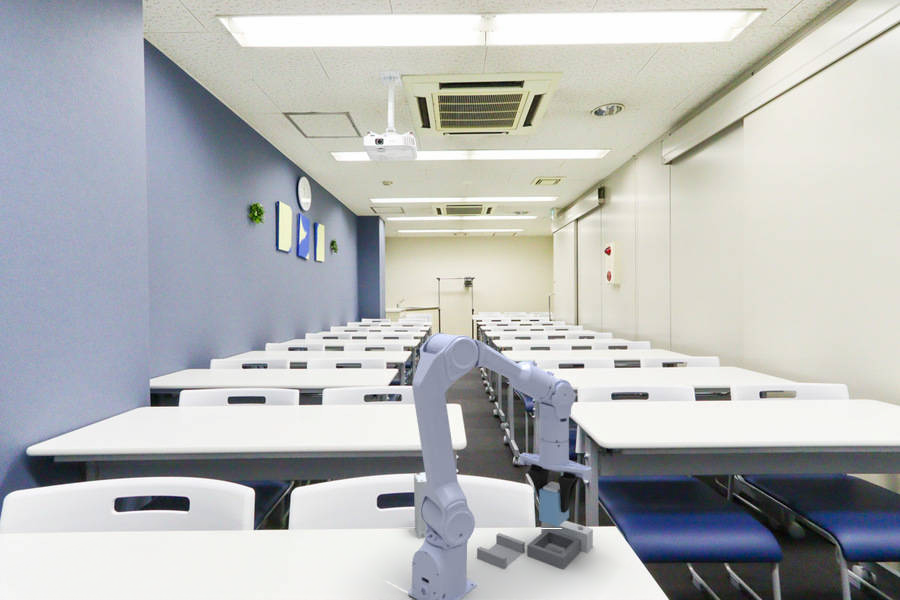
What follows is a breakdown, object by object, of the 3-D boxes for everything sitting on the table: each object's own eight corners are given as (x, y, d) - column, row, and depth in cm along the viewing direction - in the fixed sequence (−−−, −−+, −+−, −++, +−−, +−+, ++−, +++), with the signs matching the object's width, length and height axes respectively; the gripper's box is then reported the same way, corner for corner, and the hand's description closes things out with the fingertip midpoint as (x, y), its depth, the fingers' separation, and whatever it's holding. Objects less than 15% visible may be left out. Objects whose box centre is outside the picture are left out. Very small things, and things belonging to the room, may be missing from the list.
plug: (558, 526, 88) (558, 492, 88) (539, 520, 90) (539, 487, 90) (568, 517, 91) (569, 484, 92) (550, 511, 94) (550, 479, 94)
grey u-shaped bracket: (503, 571, 85) (503, 559, 85) (477, 560, 88) (477, 548, 89) (524, 553, 91) (524, 542, 91) (498, 543, 95) (498, 532, 95)
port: (569, 574, 84) (569, 550, 84) (521, 555, 90) (521, 533, 90) (592, 548, 93) (592, 527, 93) (547, 533, 99) (547, 513, 99)
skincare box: (438, 538, 97) (438, 480, 97) (417, 540, 96) (417, 482, 96) (432, 525, 103) (433, 470, 103) (413, 527, 102) (413, 472, 102)
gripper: (597, 440, 90) (597, 510, 89) (530, 428, 99) (530, 492, 98) (583, 449, 84) (583, 523, 84) (514, 435, 93) (514, 502, 93)
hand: (553, 507), depth 91 cm, fingers closed on plug, 4 cm apart
